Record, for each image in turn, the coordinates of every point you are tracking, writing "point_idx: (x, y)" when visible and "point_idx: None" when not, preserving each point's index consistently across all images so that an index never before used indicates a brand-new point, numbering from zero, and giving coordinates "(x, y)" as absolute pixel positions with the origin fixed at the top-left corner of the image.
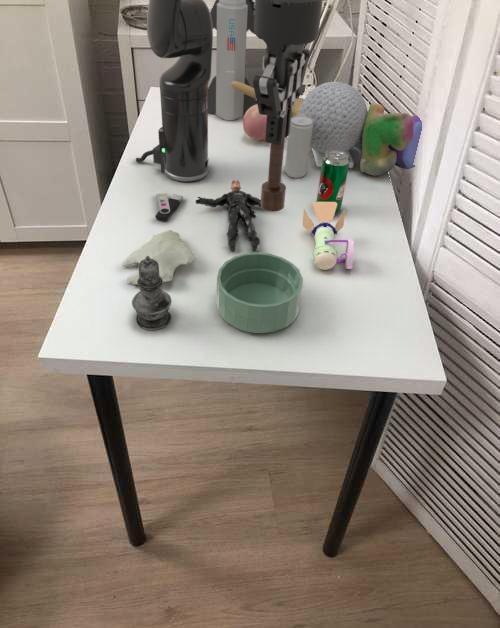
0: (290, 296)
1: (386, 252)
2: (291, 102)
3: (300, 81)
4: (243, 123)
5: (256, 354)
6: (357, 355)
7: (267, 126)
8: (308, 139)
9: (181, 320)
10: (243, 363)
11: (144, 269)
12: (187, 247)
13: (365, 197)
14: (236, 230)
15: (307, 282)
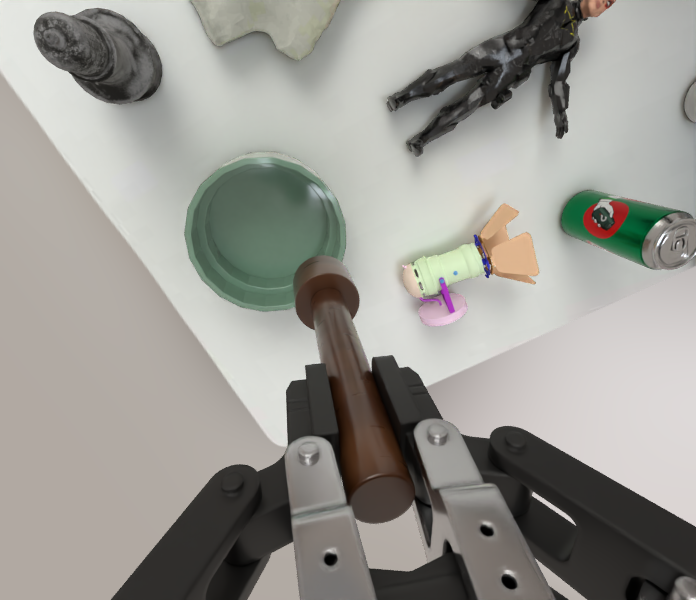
0: None
1: (490, 333)
2: (415, 513)
3: (544, 562)
4: None
5: (175, 269)
6: (259, 375)
7: (287, 420)
8: None
9: (159, 119)
10: (145, 261)
11: (37, 44)
12: (318, 23)
13: None
14: (438, 89)
15: (368, 264)
